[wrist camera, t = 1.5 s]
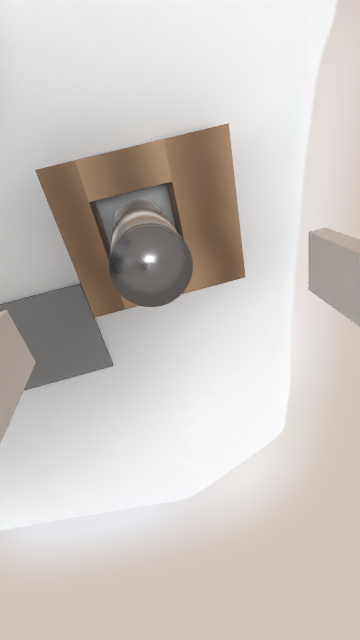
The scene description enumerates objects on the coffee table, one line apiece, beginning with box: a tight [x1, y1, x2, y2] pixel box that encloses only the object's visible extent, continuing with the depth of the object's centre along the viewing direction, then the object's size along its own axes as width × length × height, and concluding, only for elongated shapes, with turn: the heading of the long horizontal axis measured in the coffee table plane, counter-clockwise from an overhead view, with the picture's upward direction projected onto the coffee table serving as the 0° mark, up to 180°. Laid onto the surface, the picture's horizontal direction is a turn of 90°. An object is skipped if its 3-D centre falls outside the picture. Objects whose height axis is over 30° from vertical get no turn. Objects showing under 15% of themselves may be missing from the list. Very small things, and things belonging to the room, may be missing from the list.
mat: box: [0, 284, 113, 390], centre depth 32 cm, size 10×10×1 cm
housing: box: [35, 124, 245, 317], centre depth 26 cm, size 14×12×4 cm
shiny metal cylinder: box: [109, 197, 193, 307], centre depth 22 cm, size 5×5×13 cm
